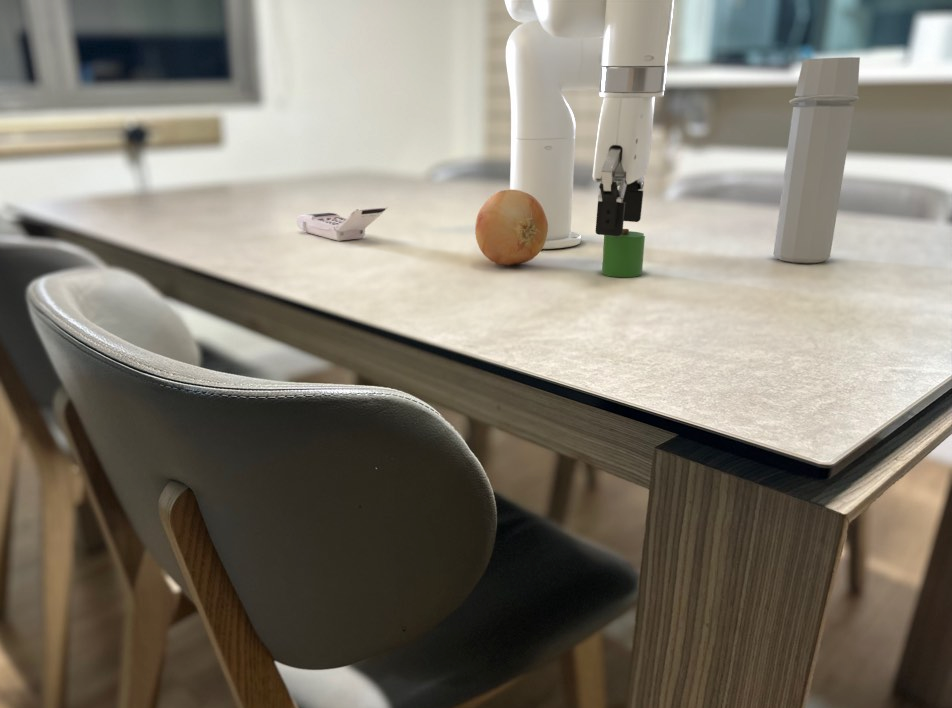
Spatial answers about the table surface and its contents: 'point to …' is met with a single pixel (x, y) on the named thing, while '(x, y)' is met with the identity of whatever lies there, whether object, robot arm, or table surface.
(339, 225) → the mobile phone
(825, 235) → the water bottle
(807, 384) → the table surface
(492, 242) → the onion
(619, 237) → the green cylinder with nub
